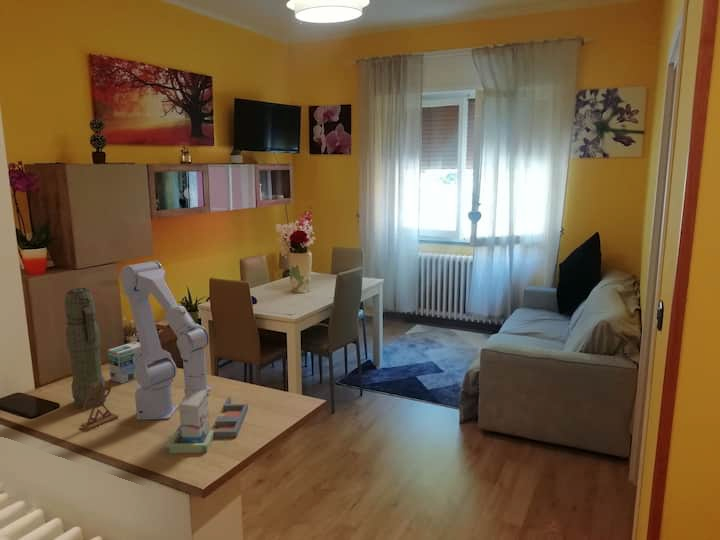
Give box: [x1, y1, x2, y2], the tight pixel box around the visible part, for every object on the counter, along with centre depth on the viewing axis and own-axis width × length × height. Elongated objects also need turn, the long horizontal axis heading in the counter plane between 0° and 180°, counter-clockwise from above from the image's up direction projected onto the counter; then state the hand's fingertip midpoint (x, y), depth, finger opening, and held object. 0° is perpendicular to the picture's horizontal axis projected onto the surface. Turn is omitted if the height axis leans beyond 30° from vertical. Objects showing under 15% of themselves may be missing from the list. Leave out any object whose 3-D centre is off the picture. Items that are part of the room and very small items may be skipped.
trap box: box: [165, 396, 249, 454], centre depth 147 cm, size 16×30×2 cm, turn 2°
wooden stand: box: [80, 382, 119, 431], centre depth 148 cm, size 9×4×12 cm, turn 148°
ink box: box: [178, 390, 210, 444], centre depth 138 cm, size 9×5×12 cm, turn 179°
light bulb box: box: [107, 341, 142, 384], centre depth 181 cm, size 11×7×11 cm, turn 147°
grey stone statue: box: [64, 287, 107, 409], centre depth 159 cm, size 9×12×35 cm
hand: (198, 420), depth 144 cm, fingers closed
